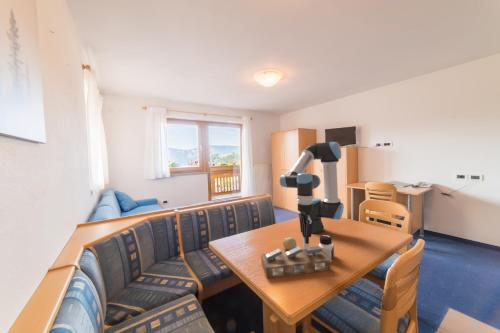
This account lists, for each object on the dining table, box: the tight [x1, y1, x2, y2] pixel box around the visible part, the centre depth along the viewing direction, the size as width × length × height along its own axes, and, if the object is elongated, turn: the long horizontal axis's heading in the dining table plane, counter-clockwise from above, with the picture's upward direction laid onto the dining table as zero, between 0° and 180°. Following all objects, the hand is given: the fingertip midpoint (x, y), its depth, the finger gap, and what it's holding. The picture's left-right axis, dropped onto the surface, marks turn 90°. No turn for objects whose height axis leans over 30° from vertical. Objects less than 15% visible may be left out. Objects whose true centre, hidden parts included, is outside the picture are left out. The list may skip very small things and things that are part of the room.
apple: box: [282, 236, 297, 251], centre depth 120 cm, size 8×8×8 cm
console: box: [260, 249, 331, 279], centre depth 101 cm, size 32×13×6 cm, turn 97°
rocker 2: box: [285, 245, 303, 258], centre depth 100 cm, size 8×3×2 cm, turn 97°
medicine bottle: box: [318, 234, 335, 263], centre depth 108 cm, size 7×7×12 cm
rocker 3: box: [305, 245, 322, 254], centre depth 102 cm, size 8×3×2 cm, turn 97°
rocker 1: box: [265, 248, 283, 261], centre depth 99 cm, size 8×3×2 cm, turn 97°
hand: (306, 248), depth 101 cm, fingers closed
